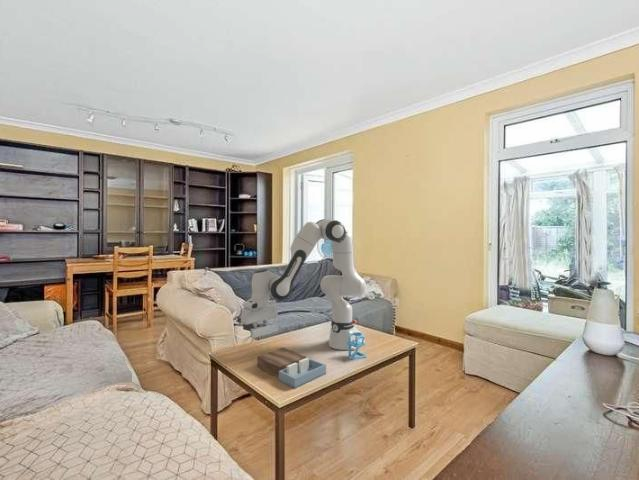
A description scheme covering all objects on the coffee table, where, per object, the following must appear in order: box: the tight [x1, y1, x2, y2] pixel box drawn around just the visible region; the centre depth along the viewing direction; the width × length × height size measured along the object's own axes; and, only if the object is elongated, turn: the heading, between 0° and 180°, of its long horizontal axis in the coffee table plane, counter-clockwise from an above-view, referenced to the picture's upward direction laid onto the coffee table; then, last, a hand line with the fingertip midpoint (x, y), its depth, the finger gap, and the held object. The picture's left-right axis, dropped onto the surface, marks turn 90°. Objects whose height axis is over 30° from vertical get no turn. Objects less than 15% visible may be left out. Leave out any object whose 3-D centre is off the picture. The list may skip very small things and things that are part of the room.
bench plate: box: [256, 347, 307, 379], centre depth 148 cm, size 16×16×5 cm
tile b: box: [287, 363, 298, 377], centre depth 138 cm, size 5×5×2 cm
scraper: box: [242, 322, 280, 339], centre depth 162 cm, size 18×16×4 cm
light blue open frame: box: [347, 332, 368, 360], centre depth 163 cm, size 8×8×12 cm
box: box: [278, 358, 327, 389], centre depth 139 cm, size 19×10×4 cm, turn 138°
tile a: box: [299, 357, 310, 373], centre depth 144 cm, size 5×5×2 cm
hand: (259, 329), depth 159 cm, fingers closed on scraper, 2 cm apart
